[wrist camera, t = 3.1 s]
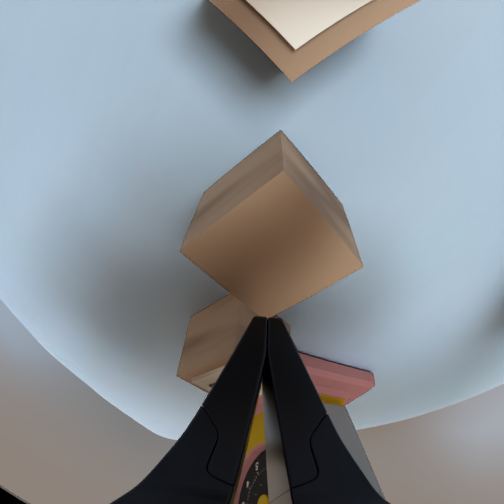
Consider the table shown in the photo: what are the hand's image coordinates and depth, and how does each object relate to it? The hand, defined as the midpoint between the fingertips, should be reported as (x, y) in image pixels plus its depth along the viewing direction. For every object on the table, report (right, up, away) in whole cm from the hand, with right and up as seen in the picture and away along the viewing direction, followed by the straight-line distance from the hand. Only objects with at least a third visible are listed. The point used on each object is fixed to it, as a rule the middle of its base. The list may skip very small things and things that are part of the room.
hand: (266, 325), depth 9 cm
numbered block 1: (-1, -3, +13) cm, 13 cm away
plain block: (+1, +5, +6) cm, 8 cm away
